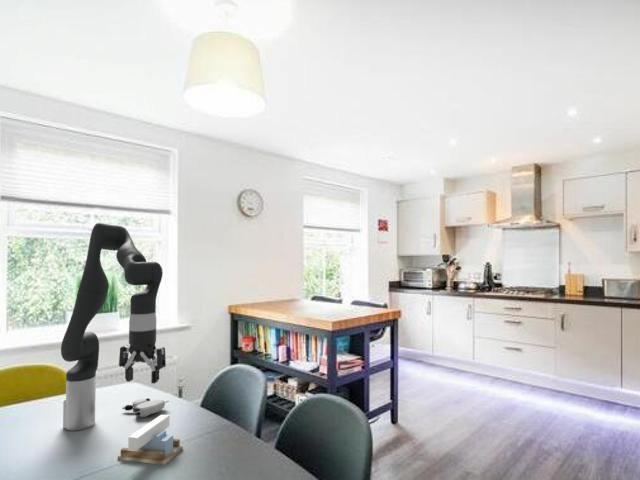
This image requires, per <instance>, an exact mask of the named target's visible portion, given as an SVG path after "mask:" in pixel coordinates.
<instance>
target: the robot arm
mask: <svg viewBox="0 0 640 480" xmlns="http://www.w3.org/2000/svg"><path fill="white" fill-rule="evenodd" d="M89 238H90V239H89V243H88V248H87V249H88V250H87V254H86V261H85V264H84V269H83V272H82V276H81V280H80V283H79V286H78V290H77V292H76V293H77V294H76V297H75V303H74V306H73V310H72V313H71V316H70V320H69V322H68V326H67V328H66V331H65V333H64V336H63V337H62V338H63V339H62V342H61V347H60V355H61V358H62V359H63V360H64V361H65V362H69V363H70V362H72V363H73V362H76V361H77V363H75V365H73V366H72V367H71V368H69V369H68V370H67V372H66V374H65V375H66V376H65V381H66V382H65V399H64V401H63V403H62V404H63V406H62V407H63V410H62V411H63V412H62V413H63V414H62V428H64V429H65V430H66V431H72V432H73V431H79V430H80V431H81V430H85V429H88V428H90V427H92V426H94V424H96V390H97V389H96V377H97V376H96V375H97V373H96V372H97V370H98V367H99V357H100V356H99V354H100V341H99V340H100V339H99V338H98V335H97V334H96V333H94V332H92V331H87V328H88V326H89V324H90V323H91V321H92V320H93V319H94V318H95V316H96V315H97V314H99V312H100V310H102V308H103V306H104V305H105V302H106V300H107V297H108V293H109V289H110V283H109V279H108V277H107V275H106V273H105V271H104V269H103V266H102V264H101V263H102V262H101V252H102V250H105V251H106V250H107V251H114V252H115V251H117V252H116V258H115V259H116V261H117V262H118V264H119V265H120V266H121V268H122V269H123V273H124V280H125V282H126V283H127V284H128V285H130V286H135V287H137V286H146V287H145V289H144V290H143V291H140V292H137V293H134V294H132V295H131V297H130V311H129V312H130V315H129V320H128V321H129V322H128V325H129V326H128V344H129V345H127V344H126V345H122V346H121V347H120V348H119V359H118V366H119V367H121V368H124V370H125V371H124V374H125V375H124V378H125V380H126V382H129V383H130V382H131V381H133V380H134V365H135V363H139V362H140V363H146V364H147V366H149V367H150V369H151V376H150V377H151V379H150V380H151V381H150V382H151V384H156V383H158V382H159V380H160V370H162V369H164V368H165V367H166V365H167V363H166V348H165V347H164V346H163V347H160V348H159V347H156V342H157V314H156V310H157V302H156V301H157V295H158V292H159V289H160V286H161V282H162V279H163V273H164V272H163V268H162V265H161V264H160V263H159V262H157V261H147V259H146V256H144V255H143V254H142V252H141V251H140V250H138V249H137V247H136V246H135V243H134V241H133V239H132V237H131V235H130V233H129V231H128V230H127V229H126V227H124V226H122V225H118V224H113V223H111V224H110V223H106V222H96V223H95V224H94V226H93V228H92V230H91V233H90V237H89ZM86 331H87V332H86ZM129 353H130V356H129Z"/></svg>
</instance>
